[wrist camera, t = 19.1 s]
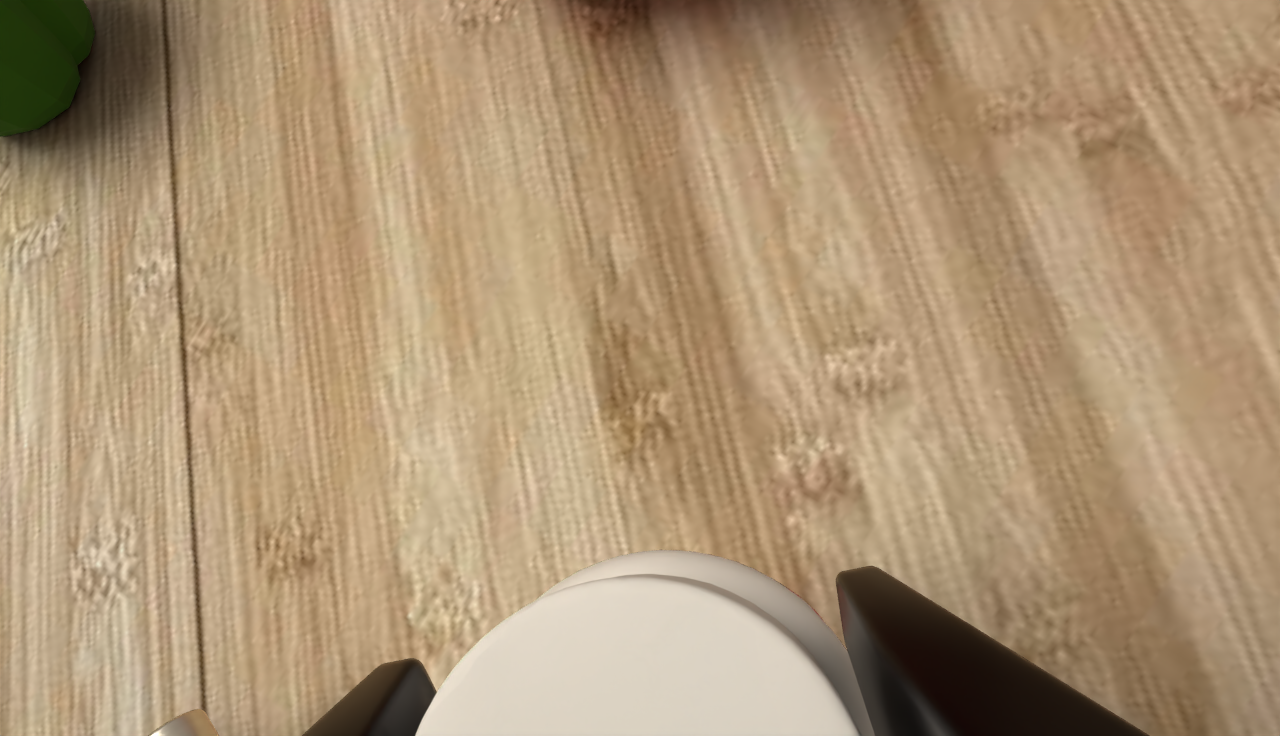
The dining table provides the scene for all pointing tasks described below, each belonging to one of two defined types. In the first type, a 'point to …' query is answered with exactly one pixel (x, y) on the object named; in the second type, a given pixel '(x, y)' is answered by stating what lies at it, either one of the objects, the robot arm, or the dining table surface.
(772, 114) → the dining table surface
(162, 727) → the drawer
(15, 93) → the bell pepper
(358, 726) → the robot arm
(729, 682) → the pill bottle
